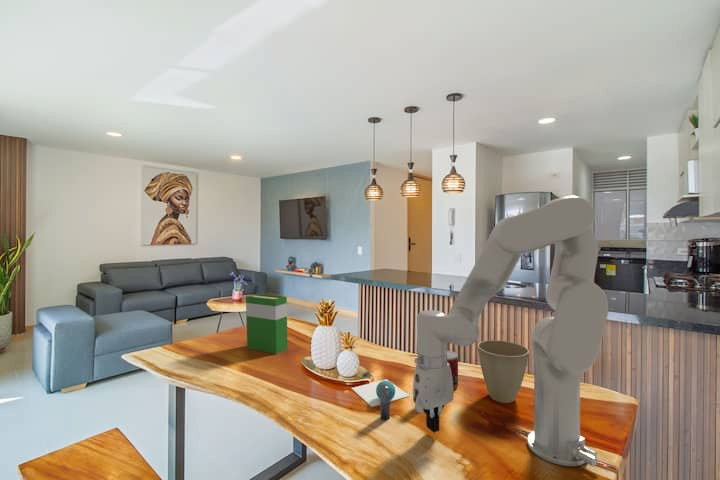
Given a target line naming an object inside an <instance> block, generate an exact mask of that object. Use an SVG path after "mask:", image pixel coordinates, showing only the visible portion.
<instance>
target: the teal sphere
mask: <svg viewBox="0 0 720 480" xmlns="http://www.w3.org/2000/svg"><path fill="white" fill-rule="evenodd" d="M381 381H382V380H381ZM389 381H390V380H389ZM389 381H382V382H380V383H379V384H378V385H377V388H376V394H377V396H378V398H379V399H380V386H381V385H384V384H385V385H389V399H390V400H392V399H393V397H394V395H395V387H394V385H395V384H394V383H393V382H391V381H390V382H389ZM392 383H393V384H394V385H393V384H392Z"/></svg>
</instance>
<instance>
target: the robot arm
mask: <svg viewBox="0 0 720 480" xmlns="http://www.w3.org/2000/svg"><path fill="white" fill-rule="evenodd" d="M595 218H596V211H595V209H594V206H593V204H592V203H591V202H590V201H589V200H587V199H585V198H584V197H581V196H577V195H568V196H567V195H566V196H564V197H560V198H556V199H552V200H549V201H547V202H545V204H544V205H542V206H539V207H536V208H534V209H531V210H529V211H527V212H526V211H525V212H522V213H519V214H516V215H513V216H506V217H504V218H502V219H499V221H497V223H496V225H495V226H494V227H493V229H492V231H491V232H490V235H489V237H488V239H487V240H486V242H485V244H484V247H483V248H482V250H481V252H480V254H479V256H478V258H477V260H476V262H475V263H474V265H473V267H472V269H471V271H470V273H469V275H468V276H467V278H466V280H465V282H464V284H463V286H461V288H460V290H459V292H458V294H457V296H456V298H455V299H454V302H453V304H452V306H451V308H450V310H449V312H448V314H447V315H446V314H445V313H444V312H442V311H440V310H434V309H433V310H432V309H428V310H427V309H425V310H422V311H420V312H418V314H417V317H416V339H417V340H416V343H417V344H416V346H417V347H416V350H417V351H416V354H417V355H416V356H417V357H416V358H414V360H413V361H414V364H415V369H414V374H413V385H412V396H413V397H412V398H413V402H414V403H415V405H414V410H415V411H416V412H417V413H424V414H425V415H426V416H425V417H426V418H425V421H426V422H425V423H426V428H427V429H428V430H430V431H431V432H432V433H433V434H434V433H437V432H440V416H441V415H442V411H443V409H444V407H445V406H446V405H448V404H450V403H452V401H453V400H454V390H453V380H452V373H451V368H450V365H449V363H447V351H448V344H451V345H456V346H459V347H460V346H461V347H468V346H471V345H473V344H475V343H476V342H477V341H478V339H479V337H480V327H479V324H478V319H479V318H480V315H481V314H482V312H483V310H484V308H485V307H486V305H487V303H488V302H489V301H490V299H491V298H492V297H493V296H494V295H495V294H497V293H499V292H500V291H501V290H502V289H504V288H505V286H506V285H507V283H508V282H509V281H510V280H509V279H510V278H511V276H512V273H513V272H514V270H515V268H516V266H517V264H518V263H519V261H520V259H521V257H522V255H523V254H527V253H530V252H533V251H537V250H540V249H543V248H546V247H549V246H552V245H554V257H553V263H552V267H551V272H550V276H549V280H548V283H547V286H546V291H545V299H546V302H547V304H548V306H550V308H551V309H553V310H554V316H547V317H544V318H541V319H540V320H539V321H537V322H536V324H535V325H534V326H533V329H532V332H531V333H532V334H531V346H532V355H533V364H534V365H533V370H534V371H533V372H534V377H533V378H534V382H533V384H534V385H533V387H534V390H533V394H534V397H533V399H534V400H533V401H534V402H533V403H534V404H533V405H534V409H533V410H534V414H533V416H534V417H533V418H534V420H533V421H534V422H533V423H534V424H533V425H534V428H533V431H532V432H529V434H528V436H527V445H528V448H529V449H530V450H531V451H532V452H533V453H534V454H535V455H536V456H538V457H539V458H541V459H543V460H545V461H547V462H550V463H553V464H556V465H559V466H565V467H577V466H578V467H579V466H581V465H584V464H585V463H586V464H588V465H590V466H592V467H595V466H596V465H597V463H598V458H597V455H598V453H597V452H596V451H595V450H593V449H591V448H588V447H587V445H585V444H586V439H585V437H583V436H581V374H584V373H586V372H587V371H589V370H590V369H591V368H592V367H593V365H594V364H595V362H596V360H597V359H598V358H597V357H598V355H599V351H600V348H601V344H602V339H603V336H604V333H605V332H604V331H605V328H606V324H607V320H608V316H609V301H608V297H607V295H606V293H605V292H604V290H603V289H602V288H601V286H599V285H598V284H597V283H596V282H594V278H595V275H596V268H597V263H598V256H599V246H598V240H597V238H596V235H595V233H594V231H593V229H592V227H591V226H592V225H593V224H594V221H595Z"/></svg>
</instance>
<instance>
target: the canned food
mask: <svg viewBox="0 0 720 480" xmlns="http://www.w3.org/2000/svg"><path fill="white" fill-rule="evenodd" d="M447 363H449V365H450V368H451V373H452V380H453V391H456V389H457V388H458V386H459V355H458V353H456V352H455V351H452V350H447Z"/></svg>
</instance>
